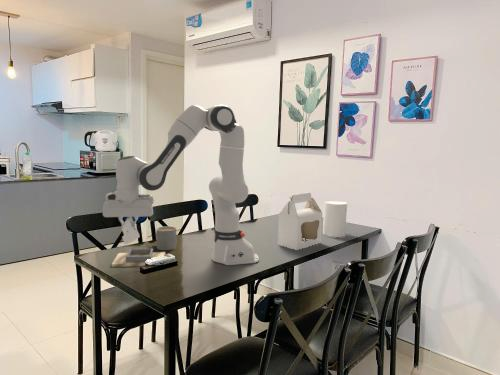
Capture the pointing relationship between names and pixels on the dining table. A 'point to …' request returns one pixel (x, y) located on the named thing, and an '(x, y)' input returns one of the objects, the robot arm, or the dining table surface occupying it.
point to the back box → (139, 258)
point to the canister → (334, 218)
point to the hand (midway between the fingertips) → (128, 226)
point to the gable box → (300, 223)
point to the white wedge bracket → (129, 231)
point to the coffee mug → (166, 238)
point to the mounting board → (121, 262)
